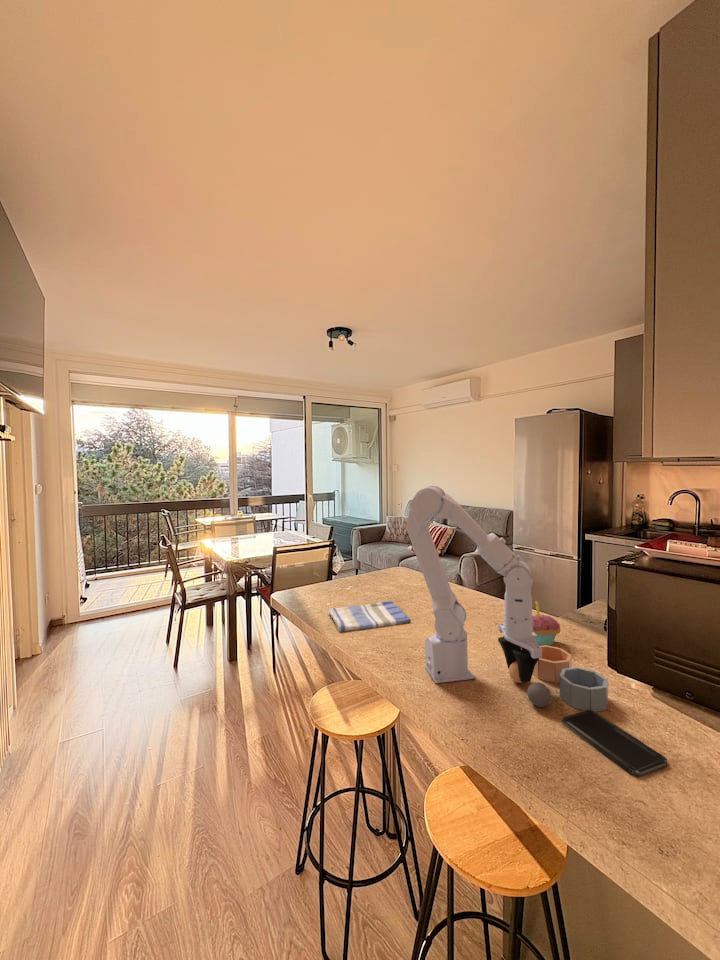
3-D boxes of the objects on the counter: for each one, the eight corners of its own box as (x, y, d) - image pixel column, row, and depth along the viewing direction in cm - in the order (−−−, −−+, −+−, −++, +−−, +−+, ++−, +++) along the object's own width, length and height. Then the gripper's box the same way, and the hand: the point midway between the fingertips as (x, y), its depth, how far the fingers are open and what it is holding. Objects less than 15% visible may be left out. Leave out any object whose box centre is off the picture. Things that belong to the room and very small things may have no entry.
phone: (635, 774, 63) (559, 718, 78) (635, 781, 63) (559, 723, 78) (671, 760, 66) (591, 708, 80) (671, 767, 66) (591, 714, 80)
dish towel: (327, 614, 139) (327, 606, 139) (393, 606, 144) (393, 598, 144) (336, 634, 122) (336, 625, 122) (411, 625, 128) (411, 616, 127)
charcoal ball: (535, 713, 80) (535, 691, 80) (523, 700, 85) (522, 679, 85) (555, 710, 81) (555, 688, 81) (542, 697, 86) (542, 677, 85)
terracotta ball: (515, 688, 90) (515, 668, 89) (505, 677, 94) (504, 658, 94) (534, 685, 90) (533, 666, 90) (523, 675, 95) (522, 656, 94)
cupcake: (540, 651, 106) (539, 605, 106) (519, 638, 115) (518, 595, 114) (567, 646, 109) (567, 601, 108) (545, 633, 117) (544, 592, 116)
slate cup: (579, 713, 80) (579, 691, 80) (552, 690, 88) (552, 669, 88) (617, 708, 81) (617, 686, 81) (587, 686, 89) (587, 665, 89)
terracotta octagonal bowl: (544, 684, 91) (544, 664, 90) (523, 666, 99) (523, 647, 99) (579, 679, 92) (579, 660, 92) (555, 662, 100) (555, 644, 100)
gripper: (555, 626, 85) (556, 690, 85) (517, 603, 99) (518, 658, 100) (523, 629, 84) (524, 694, 84) (490, 605, 98) (491, 661, 99)
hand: (519, 675), depth 92 cm, fingers closed on terracotta ball, 4 cm apart
